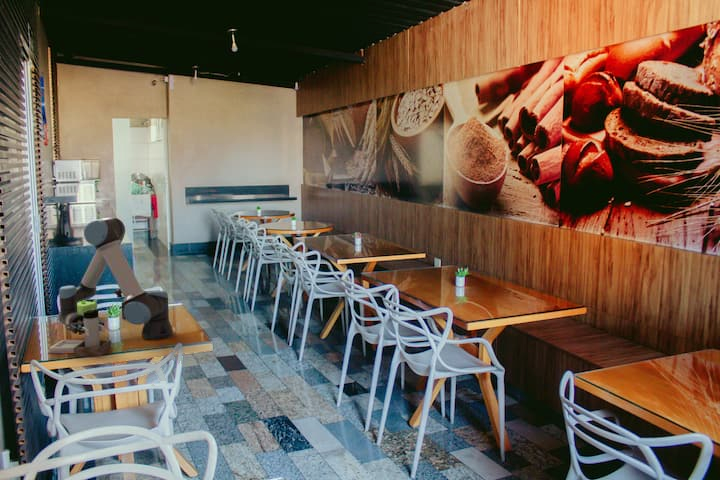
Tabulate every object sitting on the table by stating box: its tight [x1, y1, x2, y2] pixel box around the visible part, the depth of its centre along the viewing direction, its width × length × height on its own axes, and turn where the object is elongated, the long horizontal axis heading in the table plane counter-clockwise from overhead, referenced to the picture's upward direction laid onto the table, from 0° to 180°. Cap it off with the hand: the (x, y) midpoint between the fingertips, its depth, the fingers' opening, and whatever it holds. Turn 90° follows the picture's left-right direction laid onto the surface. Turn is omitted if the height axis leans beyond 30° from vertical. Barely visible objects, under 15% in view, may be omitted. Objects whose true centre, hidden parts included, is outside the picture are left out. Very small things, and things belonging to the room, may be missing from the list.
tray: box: [48, 339, 85, 354], centre depth 274 cm, size 12×12×2 cm
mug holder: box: [73, 339, 113, 358], centre depth 269 cm, size 12×12×4 cm
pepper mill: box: [114, 288, 126, 320], centre depth 326 cm, size 16×11×18 cm
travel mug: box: [84, 309, 101, 347], centre depth 268 cm, size 6×7×20 cm
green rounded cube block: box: [77, 299, 98, 316], centre depth 323 cm, size 15×14×11 cm
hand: (96, 331), depth 264 cm, fingers closed on travel mug, 6 cm apart
